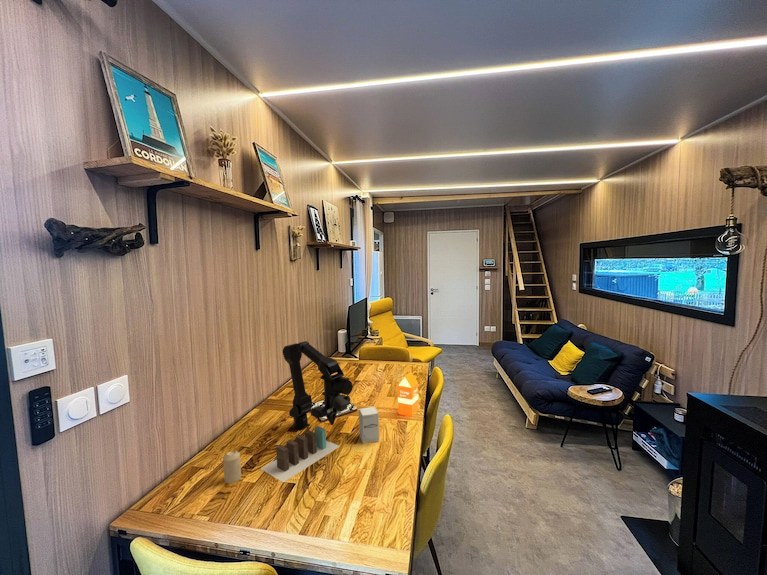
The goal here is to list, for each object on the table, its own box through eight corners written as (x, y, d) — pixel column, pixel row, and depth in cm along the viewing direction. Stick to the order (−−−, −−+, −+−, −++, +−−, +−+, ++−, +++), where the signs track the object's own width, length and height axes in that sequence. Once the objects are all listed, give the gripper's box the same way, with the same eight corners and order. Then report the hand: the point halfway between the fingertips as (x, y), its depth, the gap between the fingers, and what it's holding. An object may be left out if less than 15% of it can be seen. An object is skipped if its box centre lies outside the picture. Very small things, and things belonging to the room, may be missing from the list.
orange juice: (398, 413, 165) (397, 375, 164) (405, 407, 173) (404, 370, 171) (412, 416, 161) (411, 377, 160) (418, 409, 169) (418, 372, 168)
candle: (236, 472, 120) (235, 446, 119) (244, 478, 117) (242, 451, 116) (221, 480, 116) (220, 453, 115) (228, 486, 112) (227, 458, 112)
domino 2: (295, 465, 123) (294, 445, 122) (287, 461, 126) (286, 441, 125) (298, 463, 124) (297, 443, 124) (291, 459, 127) (290, 439, 127)
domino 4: (313, 454, 130) (312, 435, 129) (305, 450, 133) (304, 431, 132) (316, 452, 131) (316, 433, 131) (309, 448, 134) (308, 429, 134)
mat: (260, 469, 122) (260, 468, 122) (317, 437, 144) (317, 436, 144) (283, 483, 113) (283, 482, 113) (339, 446, 135) (339, 446, 135)
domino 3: (304, 459, 126) (303, 440, 126) (296, 455, 129) (295, 436, 129) (308, 457, 128) (307, 438, 127) (300, 453, 131) (299, 434, 130)
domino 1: (285, 471, 119) (284, 450, 119) (277, 467, 122) (276, 446, 122) (289, 469, 121) (288, 448, 120) (281, 464, 123) (280, 444, 123)
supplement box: (362, 444, 137) (361, 415, 136) (359, 436, 144) (358, 408, 143) (379, 441, 139) (378, 412, 138) (375, 433, 146) (374, 405, 145)
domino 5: (322, 449, 133) (322, 430, 133) (315, 446, 136) (314, 427, 135) (326, 447, 134) (325, 429, 134) (318, 444, 137) (317, 425, 137)
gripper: (327, 401, 128) (329, 439, 129) (359, 386, 143) (360, 421, 144) (309, 395, 135) (310, 431, 136) (340, 382, 150) (342, 415, 151)
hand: (332, 424), depth 141 cm, fingers closed
